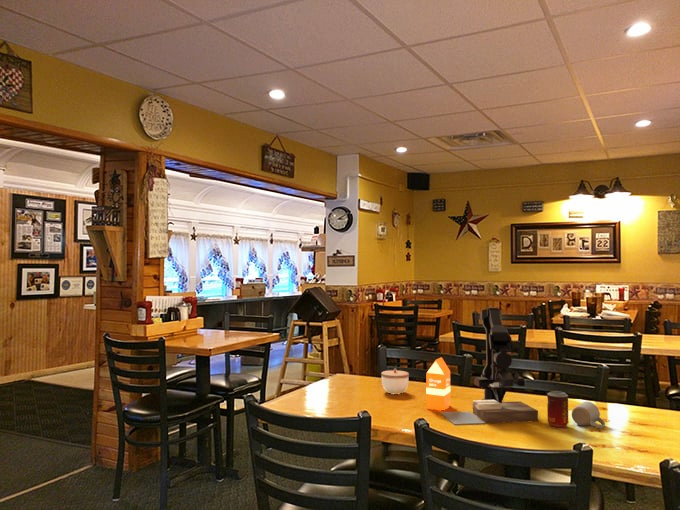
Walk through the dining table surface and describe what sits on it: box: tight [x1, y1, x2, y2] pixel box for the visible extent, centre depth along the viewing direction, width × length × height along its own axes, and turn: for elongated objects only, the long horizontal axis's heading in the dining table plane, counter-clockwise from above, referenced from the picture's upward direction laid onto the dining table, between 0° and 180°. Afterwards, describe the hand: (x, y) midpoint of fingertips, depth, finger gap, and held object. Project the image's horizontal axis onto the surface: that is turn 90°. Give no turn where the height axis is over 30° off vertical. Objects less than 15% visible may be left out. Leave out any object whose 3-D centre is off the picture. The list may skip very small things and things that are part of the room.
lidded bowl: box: [380, 368, 410, 395], centre depth 247 cm, size 13×13×11 cm
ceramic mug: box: [571, 401, 606, 429], centre depth 198 cm, size 11×8×8 cm
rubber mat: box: [440, 410, 487, 426], centre depth 205 cm, size 16×12×1 cm
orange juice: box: [425, 357, 451, 411], centre depth 222 cm, size 8×9×20 cm
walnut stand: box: [472, 400, 539, 424], centre depth 208 cm, size 14×20×4 cm
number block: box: [472, 399, 501, 410], centre depth 207 cm, size 6×9×2 cm, turn 99°
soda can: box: [546, 390, 569, 430], centre depth 196 cm, size 7×7×12 cm
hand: (499, 403), depth 207 cm, fingers closed
